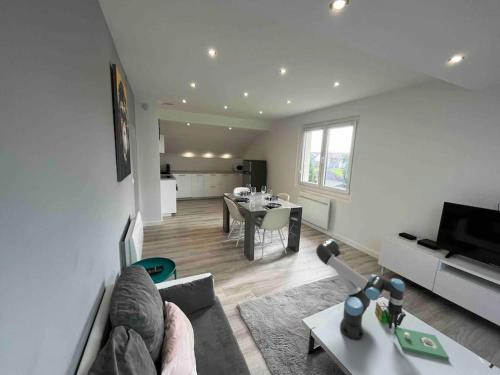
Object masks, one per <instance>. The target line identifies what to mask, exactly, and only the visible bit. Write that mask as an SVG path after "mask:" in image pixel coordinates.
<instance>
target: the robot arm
mask: <svg viewBox="0 0 500 375" xmlns="http://www.w3.org/2000/svg"><path fill="white" fill-rule="evenodd" d="M340 247H341V246H340V244H339V243H338V241H337V240H335V239H333V238H328V239H326V240H324V241H322V242H321V243H320V244H319V245H317V247H316V249H315V251H316V252H315V253H316V256H317V257H318V259H319V260H320V261H321V262H322V263H323V264H324V265H326V266H327V267H328V266H330V268H332V269H334V270H335V271H336V273H337V274H338V276H339V278H340V280H341V282H342V284H343V285H344V287H345V288H346V290H347V292H346V294H347V297H346V298H345V300H344V304H343V317H342V319H341V322H340V324H339V330H340V332H341V333H342V334H343V336H345V337H347V338H348V339H350V340H354V341H360V340H362V339H363V338H364V333H365V331H364V329H363V324H362V322H363V315H364V314H365V312H366V311H367V309H368V307H369V306H370V304H371V301H377V300H378V299H379V298H380V297H381V295H382V293H383V292H384V291H385V292H388V293H389V296H388V307H387V308H386V309H385V308H383V310H384V312H385V316H386V321H387V323H386V324H388V327H389V332H390V334H391V335H395V334H394V333H395V331H394V329H395V330H396V327H398V326H401V324H402V322H403V320H404V318H406V316H407V315H406V312H405V311H403V302H404V296H405V290H406V289H405V282H404V280H403V281H402V280H401V279H400V278H396V277H395V278H391V279H388V278H385V277H382V276H380V275H376V274H371V275H370V277H369V280H368V279H367V278H366V277H365V276H363V275H362V274H360V273H359V272H357V271H356V270H354V268H351V267H350V266H349V265H347V264H346V263H345V262H344V260H343V258H342V256H341V255H342V253H341V251H340ZM388 311H389V312H390V318H389V319H388V314H387V313H388ZM393 317H394V323H393Z"/></svg>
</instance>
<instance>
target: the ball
mask: <svg viewBox="0 0 500 375" xmlns="http://www.w3.org/2000/svg"><path fill="white" fill-rule="evenodd" d="M404 337H405V338H407V339H410V337H411V336H410V334H409V333H407V332H405V333H404Z"/></svg>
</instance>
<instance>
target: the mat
mask: <svg viewBox="0 0 500 375" xmlns="http://www.w3.org/2000/svg"><path fill="white" fill-rule="evenodd" d="M405 332H407V333H409V334H410V336H411V337H410V339H407V338H405V337H404V333H405ZM394 333H395V334H394V335H396V339H397V341H398V343H399V346H400V348H401V350H402V351H406V352H409V353H414V354H418V355H422V356H426V357H430V358H436V359H440V360H442V361H443V360H444V361H447V362H448V361H449V359H450V357H449V355H448V354H447V352H446V351H445V349H444V347H443V346H442V344H441V342H440V341H439V339H438V338H437V336H436V335H435V334H431V333H427V332H426V333H425V332H421V331H418V330H411V329H406V328H403V327H398V326H397V327H396V330H395V329H394Z"/></svg>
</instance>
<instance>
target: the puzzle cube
mask: <svg viewBox="0 0 500 375" xmlns="http://www.w3.org/2000/svg"><path fill="white" fill-rule="evenodd" d="M388 302H389V301H388ZM388 302H383V301H376V303H375V310H374V311H375V312H374V313H375V315H376V317H378V320H379V321H380V322H381V323H382V324H383V323H384V324H388V323H387V321H386V316H385V312H384V310H383V308H385V309H386V308H387V307H388ZM387 314H388V319H389V318H390V312H389V311H388V313H387ZM393 323H394V317H393Z"/></svg>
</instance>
